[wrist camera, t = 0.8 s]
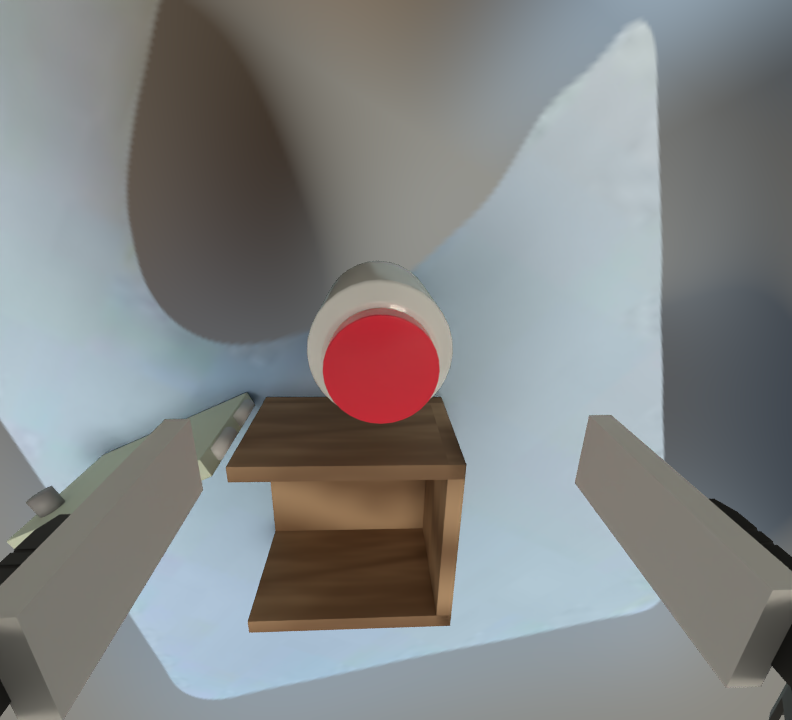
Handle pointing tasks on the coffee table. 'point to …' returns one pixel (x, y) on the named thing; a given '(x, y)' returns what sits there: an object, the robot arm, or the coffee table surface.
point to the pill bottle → (379, 343)
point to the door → (210, 441)
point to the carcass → (354, 516)
